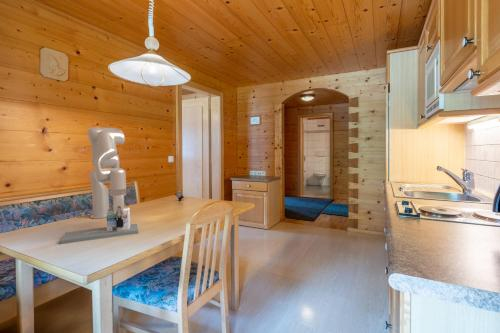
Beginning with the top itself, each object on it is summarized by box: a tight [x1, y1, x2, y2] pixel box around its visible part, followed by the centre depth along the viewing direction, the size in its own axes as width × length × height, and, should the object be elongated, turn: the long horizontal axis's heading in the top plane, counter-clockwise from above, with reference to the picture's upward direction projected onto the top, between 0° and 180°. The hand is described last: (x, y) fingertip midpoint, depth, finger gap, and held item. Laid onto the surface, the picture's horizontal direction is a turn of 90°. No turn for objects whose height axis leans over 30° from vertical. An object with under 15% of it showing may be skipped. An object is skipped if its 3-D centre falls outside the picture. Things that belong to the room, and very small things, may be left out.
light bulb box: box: [106, 207, 131, 232], centre depth 141 cm, size 11×7×11 cm, turn 109°
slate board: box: [59, 223, 139, 245], centre depth 138 cm, size 14×34×2 cm, turn 116°
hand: (120, 224), depth 141 cm, fingers closed on light bulb box, 7 cm apart
